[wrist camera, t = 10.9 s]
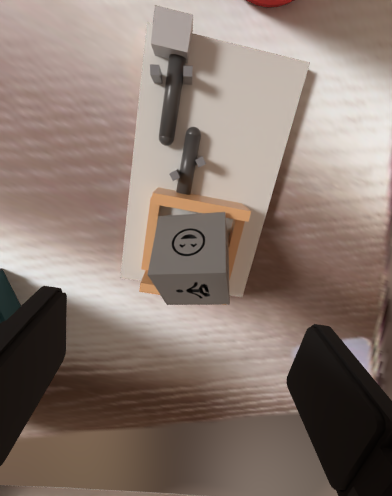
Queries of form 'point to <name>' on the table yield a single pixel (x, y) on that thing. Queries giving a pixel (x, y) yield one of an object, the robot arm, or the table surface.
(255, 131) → the board
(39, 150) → the table surface
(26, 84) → the table surface
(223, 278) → the dice cube
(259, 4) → the canned food
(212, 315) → the table surface
